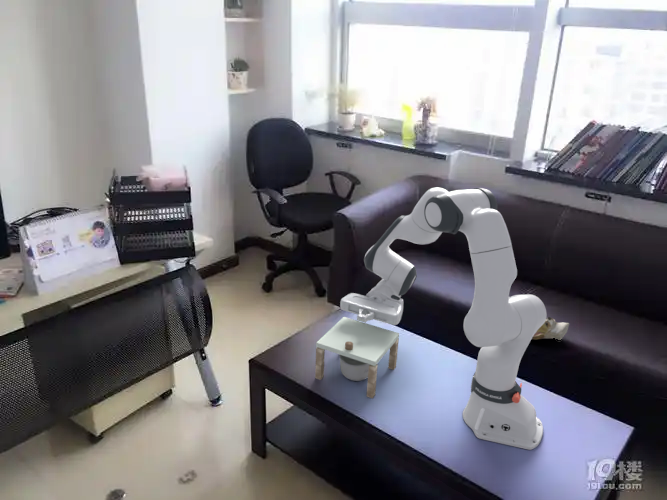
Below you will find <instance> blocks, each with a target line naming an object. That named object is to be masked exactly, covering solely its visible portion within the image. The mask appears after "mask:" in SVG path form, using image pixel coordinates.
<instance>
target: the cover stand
mask: <svg viewBox="0 0 667 500" xmlns="http://www.w3.org/2000/svg"><path fill="white" fill-rule="evenodd" d="M399 338H400V337H399ZM399 338H398V339H397V340H396V341H395V343H394V344H393V345H392V346H391V348H390V349H389V355H388V364H387V365H388V367H387V369H389V370H393V371H395V370H396V368H397V362H398V361H397V360H398V349H399ZM325 353H326V352H325V349H322V348H319V347H316V348H315V371H314V374H315V376H314V378H315V379H317V380H318V381H321V380H322V379H323V378H324V376H325V374H324V373H325ZM378 366H379V364H378V363H377V364H376V366H373V365H369V370H368V378H367V385H366V386H367V387H366V397H367V398H369V399H372V400H373V399H374V397H375V396H376V389H377V377H378Z"/></svg>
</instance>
